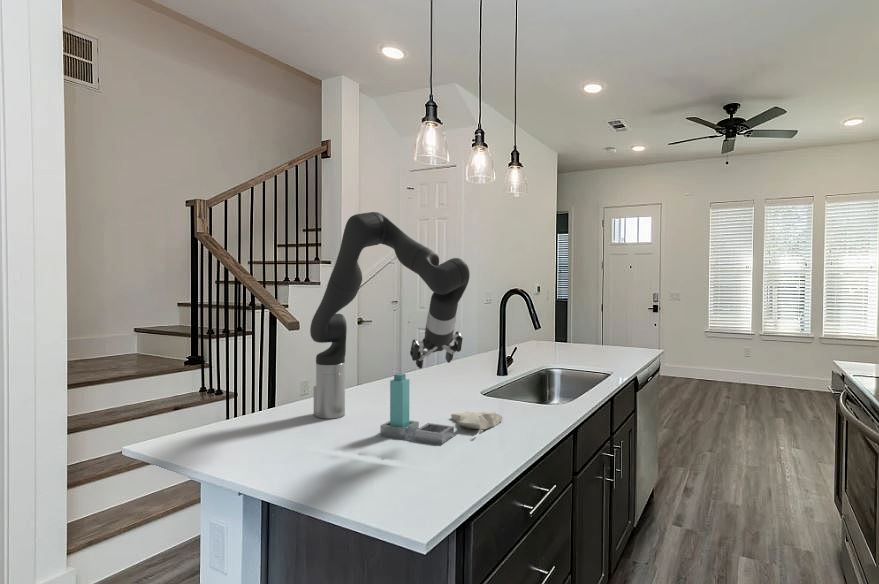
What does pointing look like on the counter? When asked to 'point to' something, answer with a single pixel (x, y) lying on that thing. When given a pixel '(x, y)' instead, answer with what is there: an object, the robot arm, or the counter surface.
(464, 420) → the rock
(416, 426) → the panel
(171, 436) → the counter surface
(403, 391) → the plug
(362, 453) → the counter surface
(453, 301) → the robot arm
